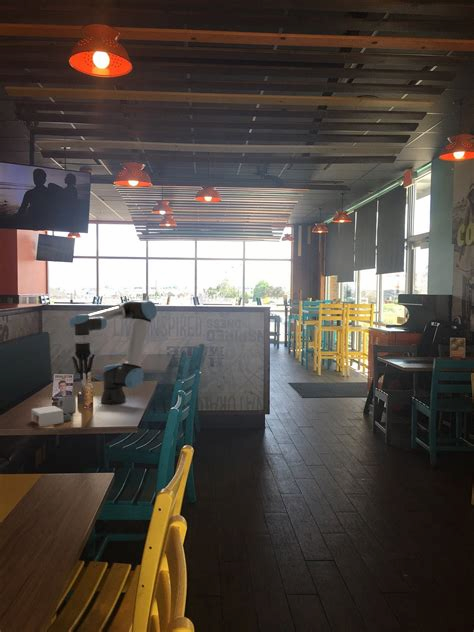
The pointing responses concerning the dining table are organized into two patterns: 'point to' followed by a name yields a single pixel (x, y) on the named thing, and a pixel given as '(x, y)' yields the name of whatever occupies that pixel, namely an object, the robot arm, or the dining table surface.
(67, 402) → the cup
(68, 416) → the grey storage tray
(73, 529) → the dining table surface
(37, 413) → the small white side table
